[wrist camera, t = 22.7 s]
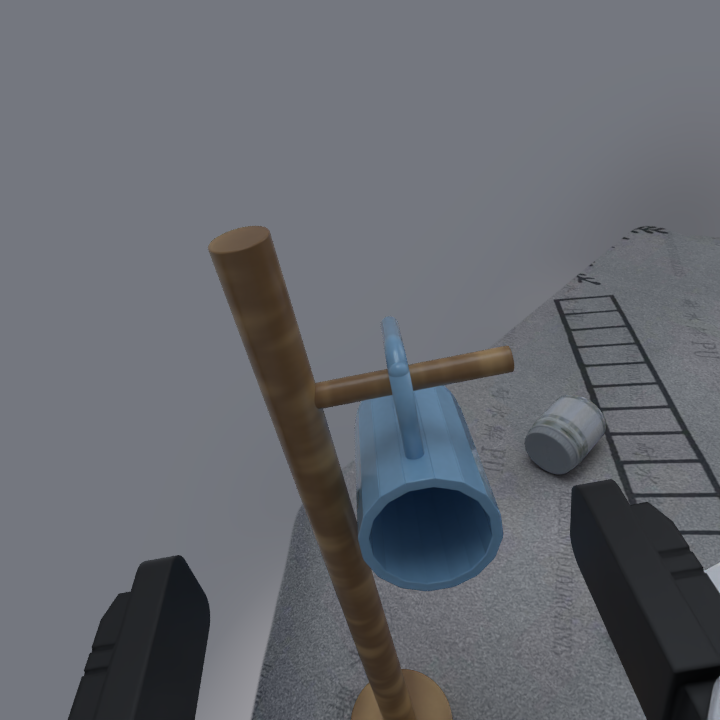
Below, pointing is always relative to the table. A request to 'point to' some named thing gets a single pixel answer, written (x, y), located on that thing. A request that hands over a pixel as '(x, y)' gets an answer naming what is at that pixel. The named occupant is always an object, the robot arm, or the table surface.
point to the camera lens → (565, 434)
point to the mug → (420, 484)
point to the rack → (331, 455)
